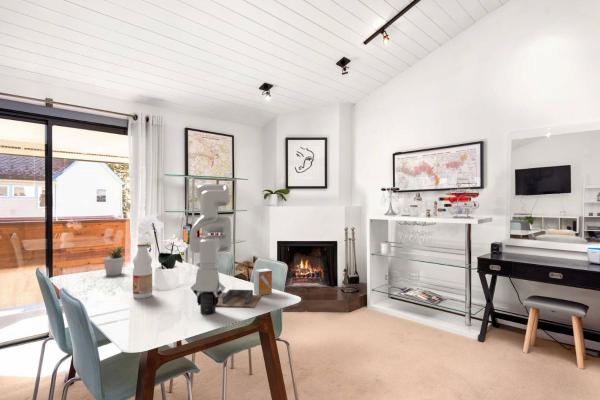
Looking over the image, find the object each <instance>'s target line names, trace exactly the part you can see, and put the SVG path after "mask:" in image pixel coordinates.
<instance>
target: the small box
mask: <svg viewBox="0 0 600 400" xmlns="http://www.w3.org/2000/svg"><path fill="white" fill-rule="evenodd" d="M272 280H273V271H272V269H269V268H260V269H254V271H253V294H254V295H261V296H265V295H272V293H273V292H272V291H273V288H272V287H273V281H272Z"/></svg>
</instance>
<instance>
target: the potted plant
mask: <svg viewBox="0 0 600 400" xmlns="http://www.w3.org/2000/svg"><path fill="white" fill-rule="evenodd" d="M113 248H114V250H113V249H110V248H109V251H106V254H107V256H104V257H103V258H102V260H103V262H104V263H103V264H104V269H105V273H106V274H105V275H106V276H108V277H113V276H119V275H121V274H122V271H123V267H124V266H123V265H124V260H125V256H126V254H123V253H122V252H124V250H125V248H123V246H122V244H121V245H120V246H118V247H117V248H116V247H115V246H113Z"/></svg>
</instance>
